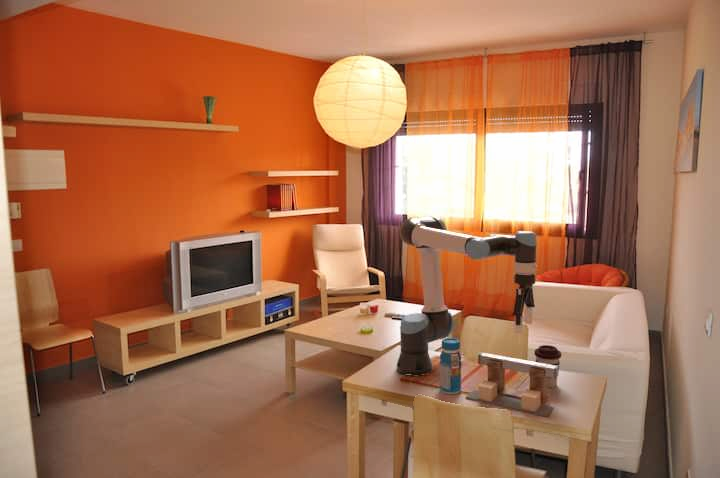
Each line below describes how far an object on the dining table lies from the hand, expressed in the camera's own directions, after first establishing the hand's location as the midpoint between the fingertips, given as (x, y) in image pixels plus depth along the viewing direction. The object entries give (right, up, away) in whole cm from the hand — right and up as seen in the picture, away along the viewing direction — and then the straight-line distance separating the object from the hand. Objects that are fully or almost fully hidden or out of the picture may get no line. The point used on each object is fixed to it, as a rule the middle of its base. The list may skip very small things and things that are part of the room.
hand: (523, 328), depth 208 cm
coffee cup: (+12, -24, +10) cm, 29 cm away
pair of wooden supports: (-2, -25, +1) cm, 25 cm away
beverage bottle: (-27, -25, +6) cm, 37 cm away
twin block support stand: (-7, -26, -7) cm, 28 cm away
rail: (-3, -15, -1) cm, 16 cm away
